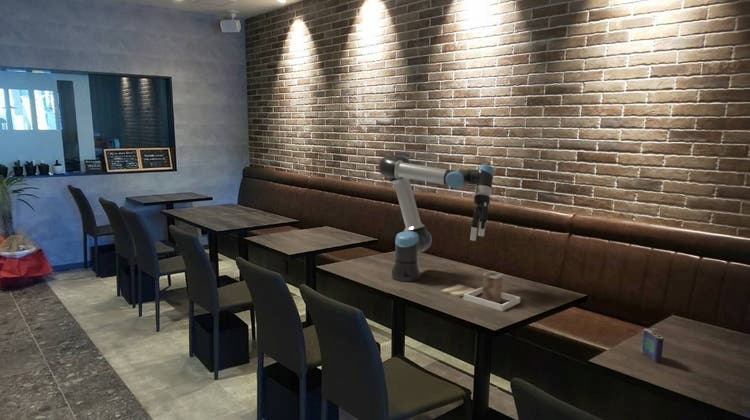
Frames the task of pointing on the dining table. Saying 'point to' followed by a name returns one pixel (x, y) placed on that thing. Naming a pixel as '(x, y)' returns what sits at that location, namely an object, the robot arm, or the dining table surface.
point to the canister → (492, 286)
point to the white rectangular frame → (501, 307)
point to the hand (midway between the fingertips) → (476, 238)
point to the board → (457, 290)
